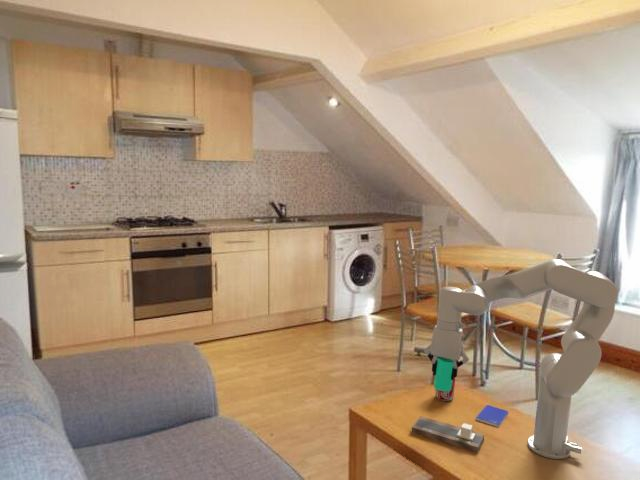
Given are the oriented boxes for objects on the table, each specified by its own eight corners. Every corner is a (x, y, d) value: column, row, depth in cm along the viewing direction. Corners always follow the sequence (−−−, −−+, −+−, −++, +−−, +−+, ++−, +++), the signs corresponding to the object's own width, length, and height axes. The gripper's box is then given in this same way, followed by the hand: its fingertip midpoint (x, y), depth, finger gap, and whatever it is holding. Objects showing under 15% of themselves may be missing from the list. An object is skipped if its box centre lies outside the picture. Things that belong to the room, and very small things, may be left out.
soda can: (435, 401, 194) (437, 371, 192) (434, 393, 201) (436, 364, 199) (454, 403, 193) (456, 373, 191) (452, 395, 200) (455, 366, 198)
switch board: (484, 440, 168) (484, 434, 168) (477, 453, 160) (478, 447, 160) (420, 421, 179) (420, 415, 178) (411, 432, 171) (411, 426, 171)
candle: (437, 381, 175) (442, 348, 173) (453, 387, 172) (459, 354, 170) (430, 387, 170) (436, 353, 168) (447, 393, 167) (453, 359, 165)
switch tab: (475, 435, 167) (476, 425, 166) (472, 441, 163) (473, 431, 163) (460, 431, 169) (460, 421, 169) (456, 436, 166) (457, 426, 165)
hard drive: (499, 424, 177) (508, 411, 187) (475, 417, 181) (486, 404, 191) (498, 428, 177) (508, 415, 187) (475, 421, 181) (486, 408, 191)
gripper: (477, 326, 167) (472, 378, 169) (426, 316, 175) (422, 366, 177) (472, 332, 160) (467, 386, 163) (420, 322, 168) (416, 374, 171)
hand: (444, 375), depth 170 cm, fingers closed on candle, 5 cm apart
